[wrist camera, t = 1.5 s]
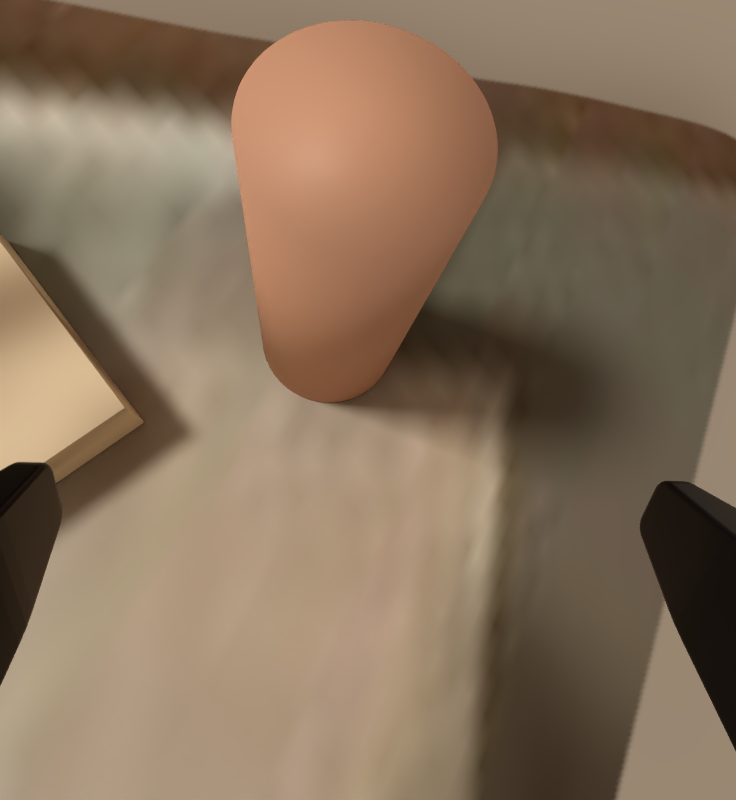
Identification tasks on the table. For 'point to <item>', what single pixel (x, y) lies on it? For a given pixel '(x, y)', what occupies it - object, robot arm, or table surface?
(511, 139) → the table surface
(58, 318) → the plinth
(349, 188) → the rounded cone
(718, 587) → the robot arm
